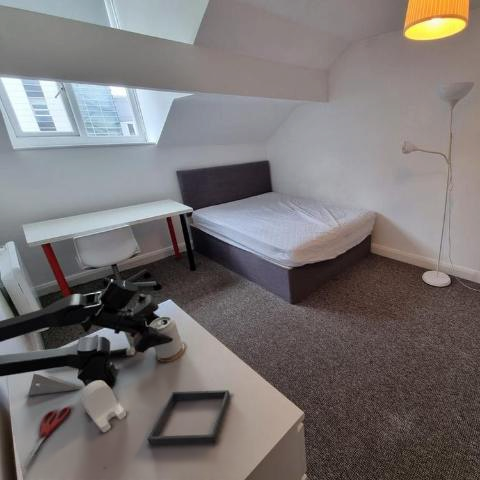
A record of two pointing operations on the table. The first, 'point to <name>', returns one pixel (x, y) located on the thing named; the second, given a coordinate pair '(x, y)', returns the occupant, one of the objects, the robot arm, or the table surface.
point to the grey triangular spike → (48, 385)
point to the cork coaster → (172, 356)
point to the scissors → (49, 427)
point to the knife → (122, 352)
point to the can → (169, 329)
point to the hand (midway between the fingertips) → (169, 331)
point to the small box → (131, 339)
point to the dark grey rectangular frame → (189, 439)
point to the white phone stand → (101, 404)
